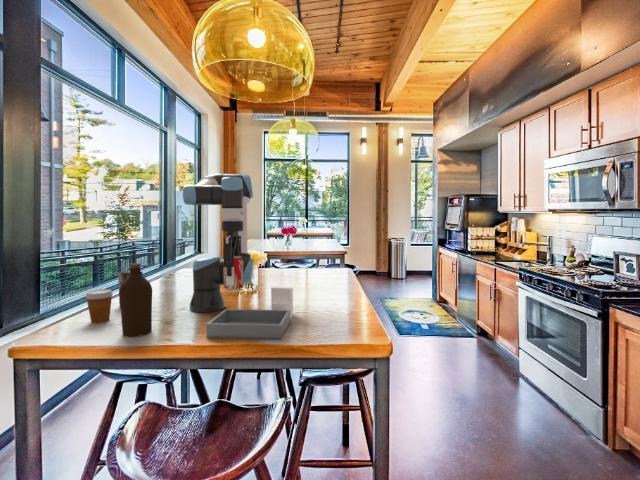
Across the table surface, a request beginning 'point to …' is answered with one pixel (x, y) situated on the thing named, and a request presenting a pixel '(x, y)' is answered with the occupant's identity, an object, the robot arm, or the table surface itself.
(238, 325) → the tote
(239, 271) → the soda can
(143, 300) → the brown growler jug
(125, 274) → the coffee box
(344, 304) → the table surface
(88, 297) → the disposable coffee cup
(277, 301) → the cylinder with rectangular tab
